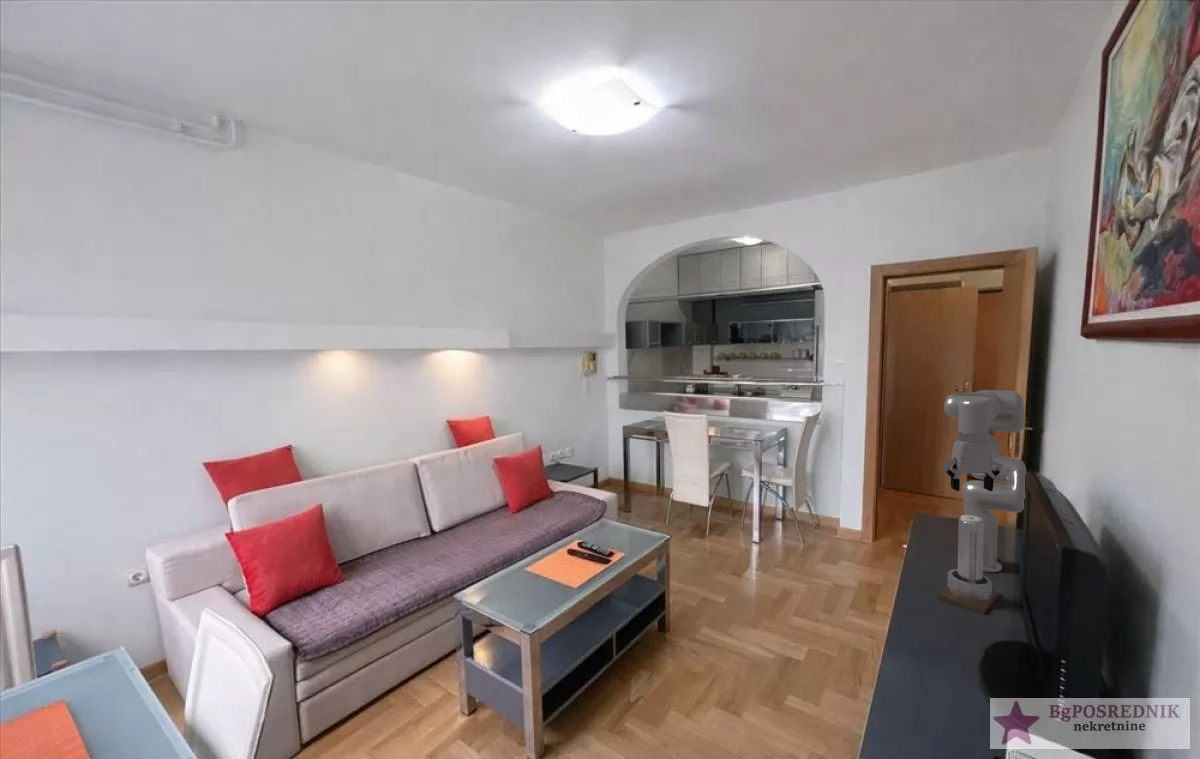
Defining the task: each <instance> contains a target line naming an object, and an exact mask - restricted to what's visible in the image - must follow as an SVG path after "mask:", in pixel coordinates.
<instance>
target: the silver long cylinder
mask: <svg viewBox="0 0 1200 759" xmlns="http://www.w3.org/2000/svg"><path fill="white" fill-rule="evenodd" d="M957 534H958V539H957V541H958V542H957V569H958V573H957V579H959V580H961V581H964V582H968V583H972V584H983V575H984V571H983V553H984V522H983V519H981V518H979V517H976V516H971V515H965V514H964V515H963V514H962V515H961V516H960V517H959V518H958V533H957Z"/></svg>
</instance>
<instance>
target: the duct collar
mask: <svg viewBox="0 0 1200 759" xmlns="http://www.w3.org/2000/svg"><path fill="white" fill-rule="evenodd" d="M957 573H958V568H953V569H950V570H949V571H948V572H947V584H946V585H945V586H944V587H943V588H942V589H941V590H940V591H939V592H938V593H937V599H939V600H941V601H944V602H947V603H950V604H953V605H956V606H958V607H962V608H963V609H968V610H970V611H973V612H976V613H979V614H982V615H985V614H986V613H987V611H988V610H989V609H990V608H991V606H992V605H993V604H994V603H995V602H996V600H997V598H998V597H999V596H1000V595H1001V589H998V588H996V587H993V582H992V580H991V579H990V578H989V577H988V576H986V575H984V574H983V584H972V583H968V582H964V581H961V580H959V579H957Z"/></svg>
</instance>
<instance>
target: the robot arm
mask: <svg viewBox="0 0 1200 759" xmlns="http://www.w3.org/2000/svg"><path fill="white" fill-rule="evenodd" d="M943 406H944V408H943V409H944V412H945V414H946V416H948V417H949V418H956V419H957V418H958V424H957V425H958V427H957V428H958V434H957V440H955V441H954V443H953V447H952V451H951V452H952V453H951V458H950V460H948V461H946V462H944V463H942V464H941V467H942V468H943V470H944V473H946V474H947V475H948V476H949V477H950V487H951V489H952V490H954V491H956V492H960V490H961V494H962V500H963V506H964V515H971V516H976V517H979V518H981V519H983V522H984V553H983V572H986V573H997V572H1001V571H1002V570H1003V566H1002V565H1003V564H1001V563H1000V562H998V561H997V560H998V557H997V556H998V555H997V553H998V520H997V517H996V516H995V515H994V513H993V512H992V510H996V511H1002V512H1008V513H1016V514H1019V513H1021V512H1023V511H1024V508H1025V506H1024V499H1025V500H1026V493H1025V475H1026V476H1027V468H1026V465H1025V463H1024V461H1023V460H1021V459H1020V458H1016V457H1011V456H1002V455H1001V449H1002V445H1001V444H1000V442H999V440H997V439H996V438H995V437H994V436H993V434H991V433H989V432H1002V433H1003V432H1004V433H1012V434H1013V433H1020V432H1021V431H1023V429H1024V427H1025V424H1026V420H1025V417H1026V416H1025V404H1024V399H1023V397H1022V395H1021V394H1020V393H1019V392H1018V391H1016V390H998V389H997V390H995V389H981V390H977V391H976V392H974V391H973V392H964V393H953V394H950V395H948V396H946V399H945V401H944V405H943ZM951 469H952V470H951ZM962 474H971V476H972V477H974V480H973V479H971V480H968V481H965V482H964V483H963V485H962V487H960V486H961V482H960V481H961V480H960V478H959V477H961V475H962ZM975 478H976V479H977V480H975ZM978 479H979V480H978ZM997 482H998V483H997ZM1003 483H1004V484H1003ZM960 488H961V489H960Z"/></svg>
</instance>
